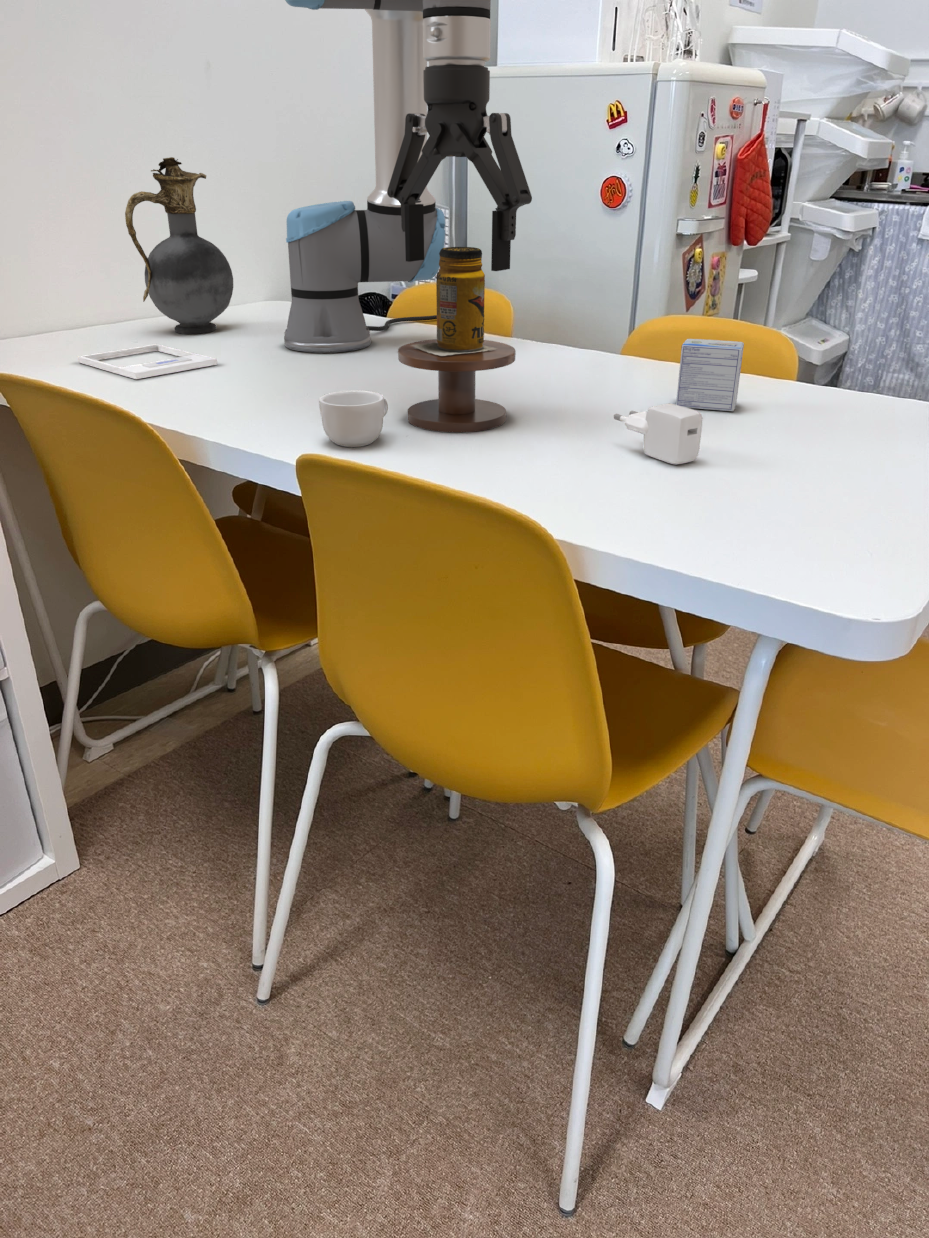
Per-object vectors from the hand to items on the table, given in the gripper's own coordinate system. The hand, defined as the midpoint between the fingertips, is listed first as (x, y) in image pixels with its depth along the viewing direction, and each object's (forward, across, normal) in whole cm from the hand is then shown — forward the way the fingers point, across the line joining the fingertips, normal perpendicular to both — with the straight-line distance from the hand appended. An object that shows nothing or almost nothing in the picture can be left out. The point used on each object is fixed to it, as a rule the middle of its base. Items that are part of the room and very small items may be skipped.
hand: (456, 265), depth 115 cm
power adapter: (+19, +28, +3) cm, 34 cm away
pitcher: (+20, -79, +16) cm, 83 cm away
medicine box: (+19, +23, +27) cm, 40 cm away
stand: (+19, 0, 0) cm, 19 cm away
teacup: (+19, -3, -15) cm, 25 cm away
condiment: (+10, 0, 0) cm, 10 cm away
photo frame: (+20, -60, -6) cm, 64 cm away
